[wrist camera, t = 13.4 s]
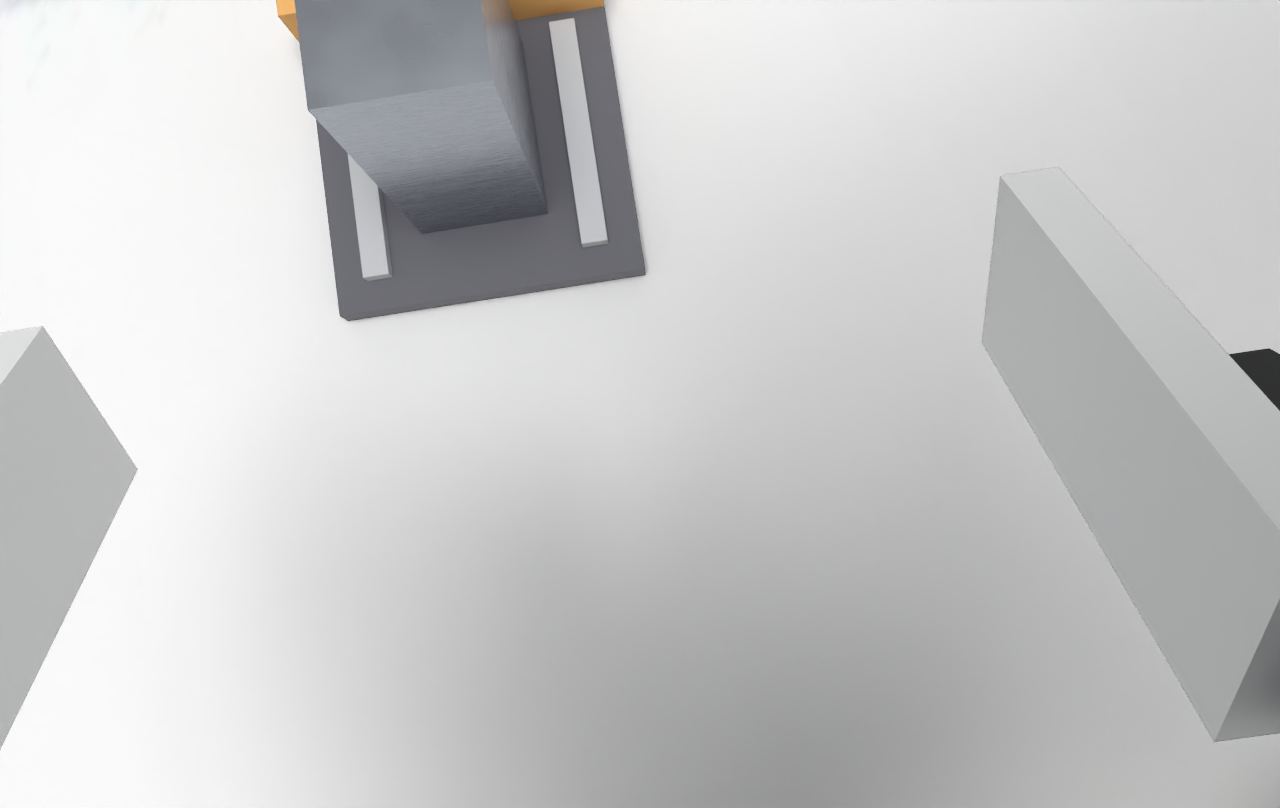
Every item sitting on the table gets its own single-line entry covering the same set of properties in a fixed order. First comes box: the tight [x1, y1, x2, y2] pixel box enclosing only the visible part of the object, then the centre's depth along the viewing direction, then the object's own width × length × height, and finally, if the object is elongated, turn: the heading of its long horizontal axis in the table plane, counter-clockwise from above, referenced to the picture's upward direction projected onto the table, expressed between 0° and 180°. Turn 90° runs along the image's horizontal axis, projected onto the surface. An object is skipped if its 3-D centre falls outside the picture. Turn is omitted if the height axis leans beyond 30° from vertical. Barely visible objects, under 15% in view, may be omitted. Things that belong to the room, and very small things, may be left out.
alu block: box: [294, 0, 548, 234], centre depth 32 cm, size 5×7×12 cm
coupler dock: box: [276, 0, 645, 321], centre depth 37 cm, size 12×12×4 cm
